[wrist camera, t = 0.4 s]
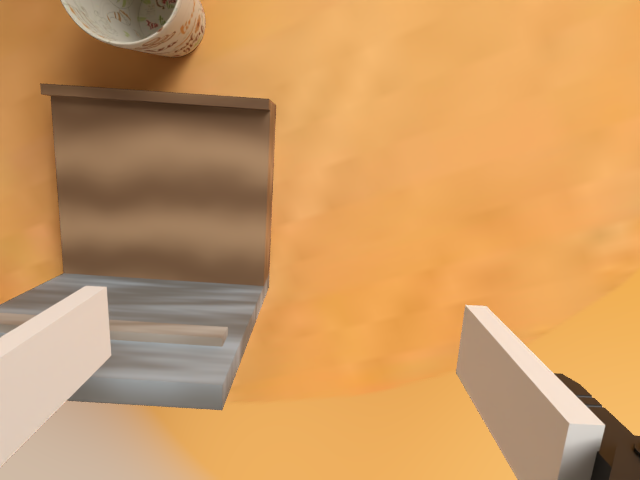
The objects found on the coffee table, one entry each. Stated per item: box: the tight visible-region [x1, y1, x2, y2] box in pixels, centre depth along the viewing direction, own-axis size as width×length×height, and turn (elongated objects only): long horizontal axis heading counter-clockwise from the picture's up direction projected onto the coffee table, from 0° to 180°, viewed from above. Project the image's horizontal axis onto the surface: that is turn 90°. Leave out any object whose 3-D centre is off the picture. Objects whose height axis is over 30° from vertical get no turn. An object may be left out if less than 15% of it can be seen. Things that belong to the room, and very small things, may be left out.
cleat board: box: [0, 83, 276, 410], centre depth 30 cm, size 18×18×20 cm
